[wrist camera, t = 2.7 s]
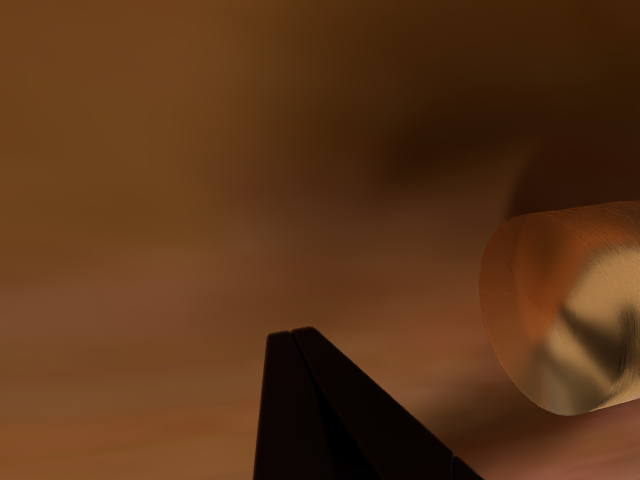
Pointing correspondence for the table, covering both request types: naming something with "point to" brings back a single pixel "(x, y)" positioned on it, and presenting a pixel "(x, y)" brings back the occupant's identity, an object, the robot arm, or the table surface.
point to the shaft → (567, 305)
